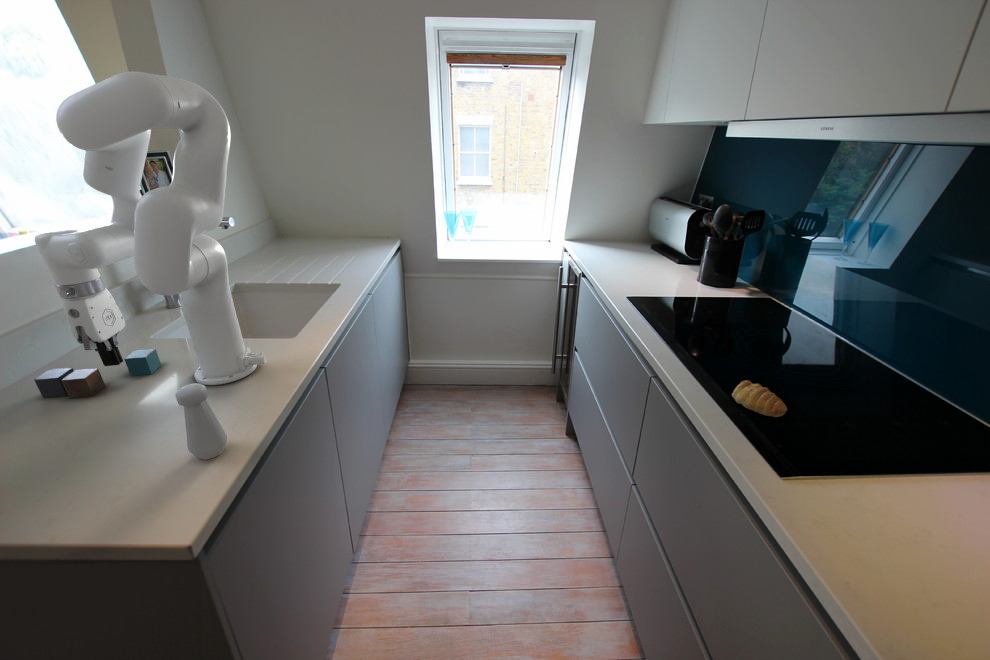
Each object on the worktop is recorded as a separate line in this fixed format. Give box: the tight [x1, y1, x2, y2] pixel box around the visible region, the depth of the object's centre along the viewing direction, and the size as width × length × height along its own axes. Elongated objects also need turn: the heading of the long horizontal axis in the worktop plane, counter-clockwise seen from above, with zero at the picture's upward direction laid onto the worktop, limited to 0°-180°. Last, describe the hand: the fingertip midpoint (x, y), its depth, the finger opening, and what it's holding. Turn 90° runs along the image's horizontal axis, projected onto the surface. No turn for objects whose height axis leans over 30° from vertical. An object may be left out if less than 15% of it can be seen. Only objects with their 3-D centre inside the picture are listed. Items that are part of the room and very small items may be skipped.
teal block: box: [123, 348, 162, 377], centre depth 103 cm, size 4×4×4 cm
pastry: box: [731, 380, 788, 418], centre depth 88 cm, size 9×7×4 cm
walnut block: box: [61, 367, 106, 399], centre depth 94 cm, size 4×4×4 cm
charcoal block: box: [34, 367, 75, 399], centre depth 94 cm, size 4×4×4 cm
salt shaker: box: [175, 382, 228, 461], centre depth 74 cm, size 6×6×13 cm
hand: (114, 363), depth 102 cm, fingers closed
